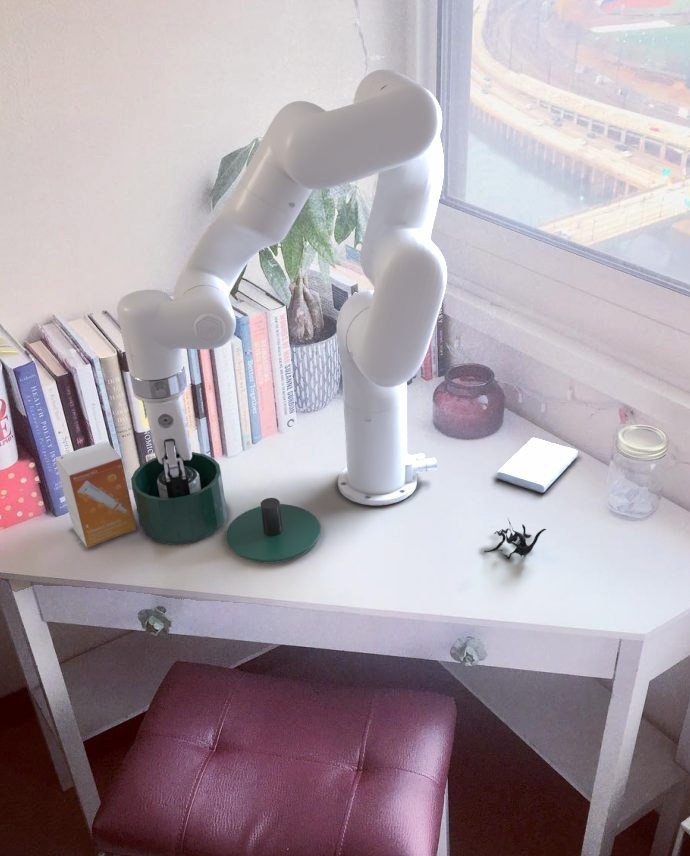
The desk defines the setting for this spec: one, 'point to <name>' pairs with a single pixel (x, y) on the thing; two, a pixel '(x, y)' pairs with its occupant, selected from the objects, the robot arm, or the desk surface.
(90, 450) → the small box
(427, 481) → the desk surface
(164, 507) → the pot
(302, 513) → the lid
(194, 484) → the camera lens
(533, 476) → the hard drive
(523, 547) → the creature
